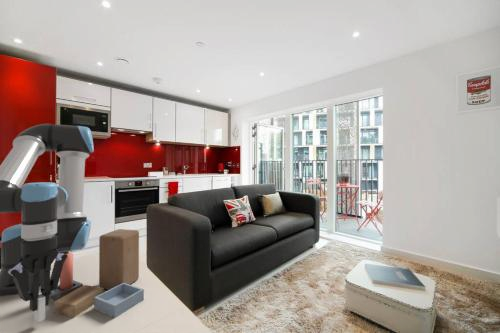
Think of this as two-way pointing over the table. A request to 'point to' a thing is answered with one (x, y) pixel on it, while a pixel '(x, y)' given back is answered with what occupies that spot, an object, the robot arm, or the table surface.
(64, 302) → the cardboard box
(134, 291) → the tray
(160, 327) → the table surface
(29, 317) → the table surface
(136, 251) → the wooden block
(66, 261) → the dowel
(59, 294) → the socket
